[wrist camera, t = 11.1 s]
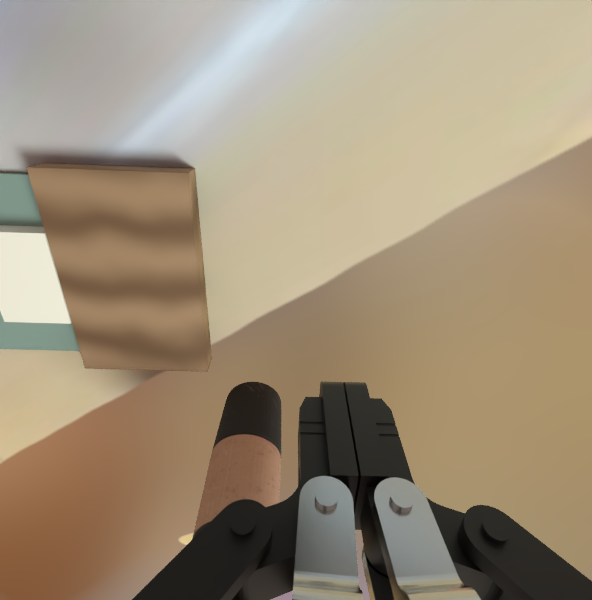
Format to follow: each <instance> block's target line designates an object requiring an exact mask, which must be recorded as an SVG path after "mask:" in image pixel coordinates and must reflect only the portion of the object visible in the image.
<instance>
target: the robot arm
mask: <svg viewBox="0 0 592 600" xmlns="http://www.w3.org/2000/svg"><path fill="white" fill-rule="evenodd" d="M355 530H362V536H363V543H364V546H363V550H362V563H363V568H364V572H365V577H366V582H367V586H368V591H369V596H370V600H592V581H591V580H589V579H588V578H587V577H585V576H584V575H583V574H581V573H580V572H579V571H578V570H576V569H575V568H574V567H573V566H571V565H570V564H569V563H567V562H566V561H565V560H564V559H562V558H561V557H560V556H559V555H557V554H556V553H555V552H553V551H552V550H551V549H550V548H548V547H547V546H546V545H545V544H543V543H542V542H541V541H539V540H538V539H537V538H535V537H534V536H533V535H532V534H530V533H529V532H528V531H527V530H525V529H524V528H523V527H521V526H520V525H519V524H518V523H516V522H515V521H514V520H513V519H511V518H510V517H509V516H507V515H506V514H505V513H503V512H501V511H500V510H498V509H496V508H493V507H490V506H484V505H477V506H473V507H471V508H470V509H468V510H467V512H466V513H461V512H458V511H455V510H452V509H449V508H446V507H443V506H441V505H438V504H436V503H434V502H432V501H430V500H429V499H428V498H427V497H425V495H424V493H423V492H422V491H421V490H420V489H419V488H418V487H417V486H416V485H415V484H414V482H413V479H412V477H411V473H410V470H409V466H408V463H407V460H406V457H405V453H404V450H403V447H402V444H401V441H400V438H399V435H398V431H397V427H396V426H395V421H394V418H393V415H392V411H391V410H390V408H389V407H388V406H387V405H386V404H385V402H384V401H383V400H382V399H372V398H370V397H369V393H368V389H367V386H366V383H358V382H344V383H343V382H321V384H320V395H319V397H306V398H305V399H304V401H303V403H302V405H301V407H300V412H299V432H298V488H297V489H296V491H295V492H294V493H293V495H292V496H290V497H289V498H288V499H287V500H285V501H283V502H280V503H277V504H274V505H271V506H268V507H265V506H263V505H262V504H261V503H259V502H257V501H255V500H251V499H242V500H237V501H235V502H232V503H231V504H229V505H227V506H226V507H225V508H224V509H223V510H222V511H221V512H220V513H219V514H218V515H217V516H216V517H215V518H214V519H213V520H212V521H211V522H210V523H209V524H208V525H207V526H206V527H205V528H204V529H203V530H202V531H201V532H200V533H199V534H198V535H197V536H196V537H195V538H194V539H193V540H192V541H191V542H190V543H189V544H188V545H187V546H186V547H185V548H184V549H183V550H182V551H181V552H180V553H179V554H178V555H177V556H176V557H175V558H174V559H173V560H172V561H171V562H170V563H169V564H168V565H167V566H166V567H165V568H164V569H163V570H162V571H161V572H159V573H158V574H157V575H156V576H155V578H154V579H152V580H151V581H150V583H149V584H148V585H146V586H145V587H144V588H143V589H142V590H141V592H139V593H138V594H137V595H136V596H135V597H134V598H133V599H132V600H270V599H273V598H275V597H278V596H280V595H282V594H285V593H287V592H290V591H292V590H293V595H292V600H364V599H363V594H362V590H360V588H359V581H358V567H357V552H356V537H355Z"/></svg>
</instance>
